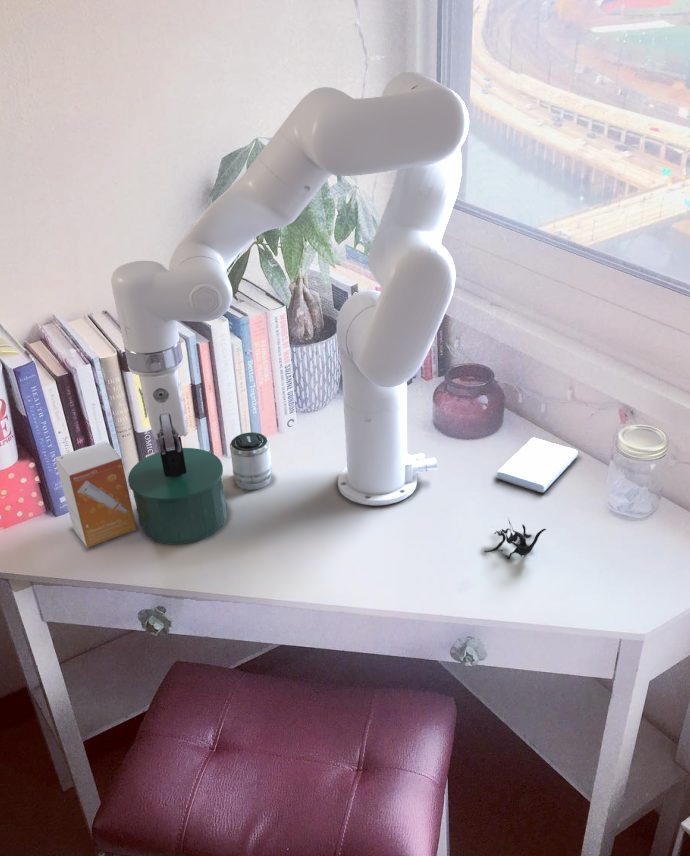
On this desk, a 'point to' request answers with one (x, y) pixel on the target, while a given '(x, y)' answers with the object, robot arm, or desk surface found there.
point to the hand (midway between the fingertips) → (174, 466)
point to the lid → (158, 487)
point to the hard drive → (537, 465)
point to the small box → (96, 493)
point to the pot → (183, 516)
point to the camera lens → (251, 460)
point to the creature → (522, 547)
